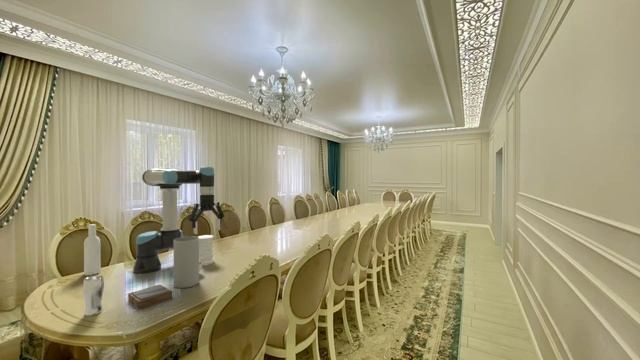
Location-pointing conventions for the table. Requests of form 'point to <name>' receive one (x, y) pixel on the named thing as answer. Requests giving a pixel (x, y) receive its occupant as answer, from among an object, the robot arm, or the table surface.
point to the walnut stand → (149, 296)
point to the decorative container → (206, 249)
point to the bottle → (92, 252)
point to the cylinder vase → (186, 261)
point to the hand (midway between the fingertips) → (207, 231)
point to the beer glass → (93, 294)
